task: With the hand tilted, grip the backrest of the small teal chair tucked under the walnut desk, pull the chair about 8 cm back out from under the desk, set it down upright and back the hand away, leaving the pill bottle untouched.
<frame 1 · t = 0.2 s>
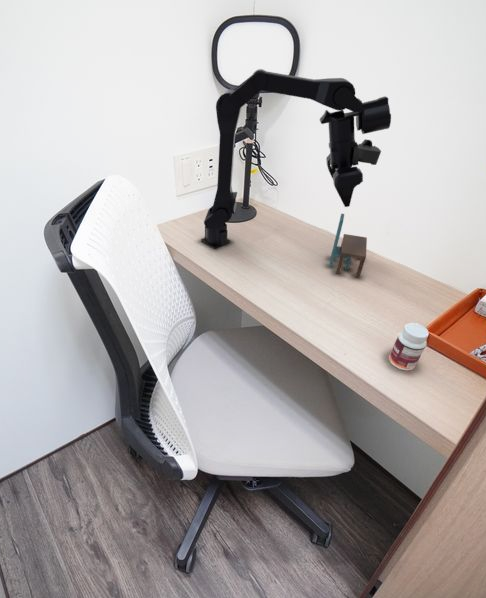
hand: (344, 199, 96), 15 cm above the table, tool pointing down, fingers open, 9 cm apart
desk: (348, 265, 98), on the table
pill bottle: (401, 362, 70), on the table
chair: (339, 264, 99), on the table
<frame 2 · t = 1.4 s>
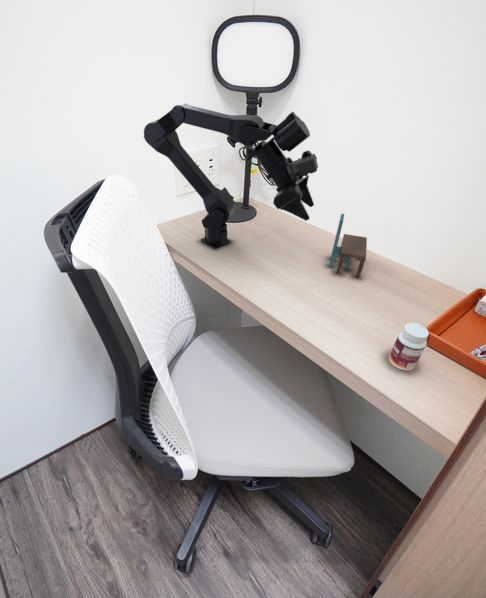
hand: (310, 212, 94), 13 cm above the table, tool tilted 45°, fingers open, 9 cm apart
nothing on the table moved.
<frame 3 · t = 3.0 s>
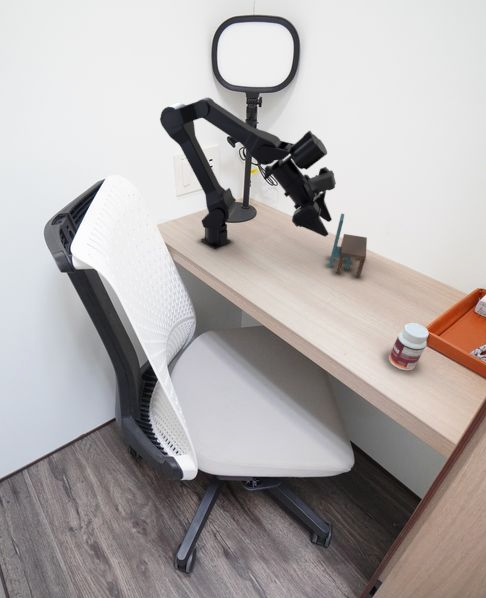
hand: (328, 227, 94), 10 cm above the table, tool tilted 45°, fingers open, 9 cm apart
nothing on the table moved.
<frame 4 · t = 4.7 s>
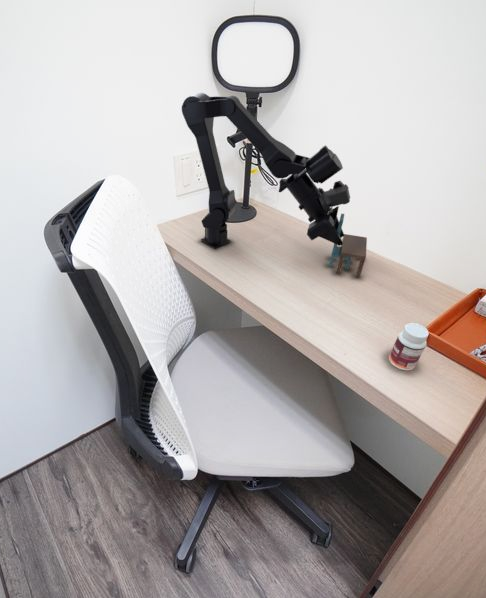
hand: (342, 240, 95), 7 cm above the table, tool tilted 45°, fingers closed on chair, 4 cm apart
chair: (339, 264, 99), on the table, touching gripper
everything else where it was.
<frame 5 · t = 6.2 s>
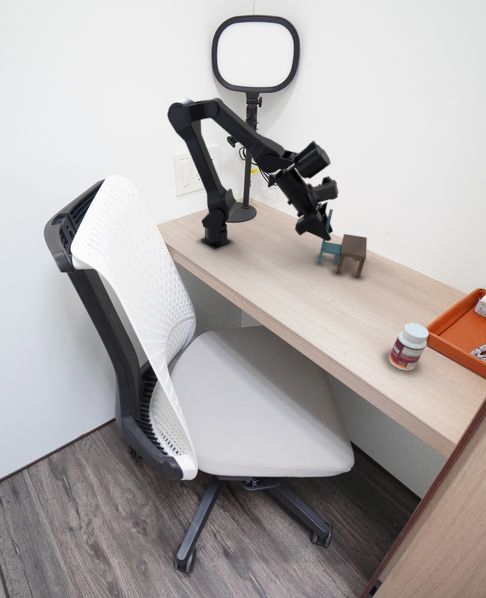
hand: (330, 236, 95), 8 cm above the table, tool tilted 45°, fingers closed on chair, 4 cm apart
chair: (327, 259, 99), point 1 cm above the table, touching gripper
everything else where it was.
when the fingers open (7 cm above the table, at t = 8.1 s): chair stays where it is, on the table.
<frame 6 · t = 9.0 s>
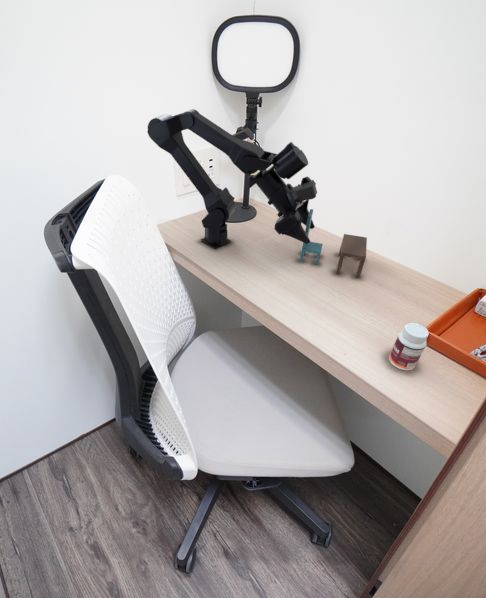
hand: (311, 235, 97), 7 cm above the table, tool tilted 45°, fingers open, 9 cm apart
chair: (309, 258, 101), on the table
everything else where it was.
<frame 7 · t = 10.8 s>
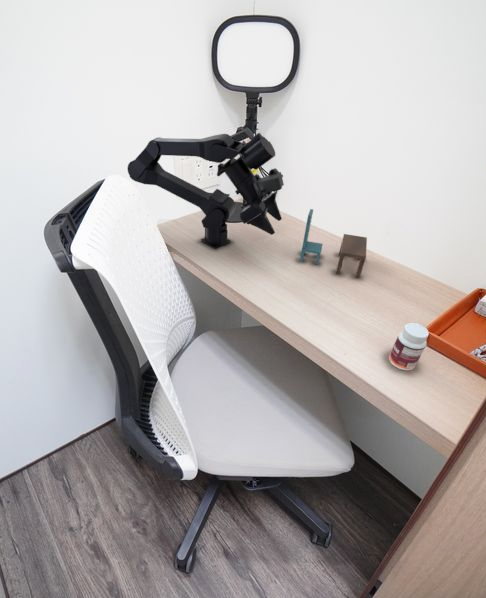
hand: (277, 226, 99), 8 cm above the table, tool tilted 40°, fingers open, 9 cm apart
nothing on the table moved.
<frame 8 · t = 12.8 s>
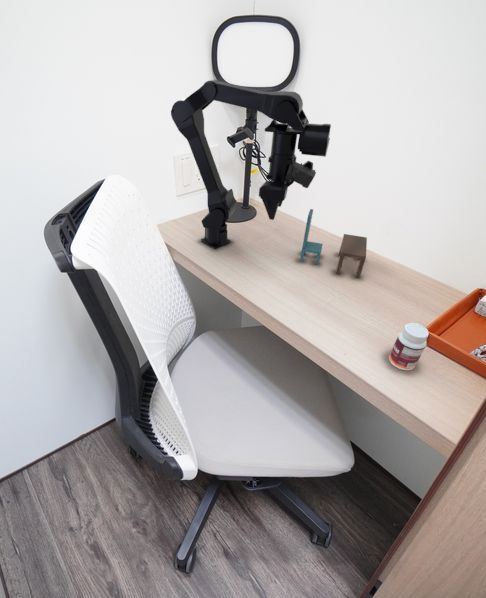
hand: (275, 212, 97), 12 cm above the table, tool pointing down, fingers open, 9 cm apart
nothing on the table moved.
at the end: chair 0.4 cm from the target spot on the table beside the desk, on the table; chair tilted 0°; pill bottle moved 0.2 cm from its start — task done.
